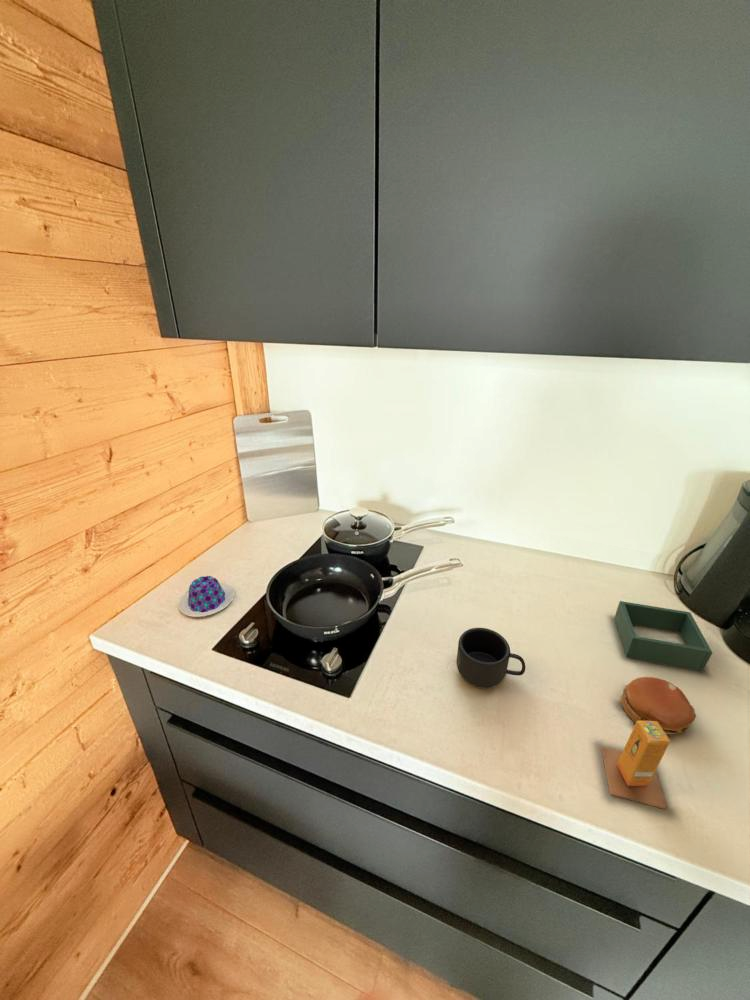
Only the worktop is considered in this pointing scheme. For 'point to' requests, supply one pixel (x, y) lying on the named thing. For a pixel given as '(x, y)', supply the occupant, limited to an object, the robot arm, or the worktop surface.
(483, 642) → the mug
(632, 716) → the burger
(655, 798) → the coaster
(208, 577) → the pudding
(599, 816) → the worktop surface
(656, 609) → the basket
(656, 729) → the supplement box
